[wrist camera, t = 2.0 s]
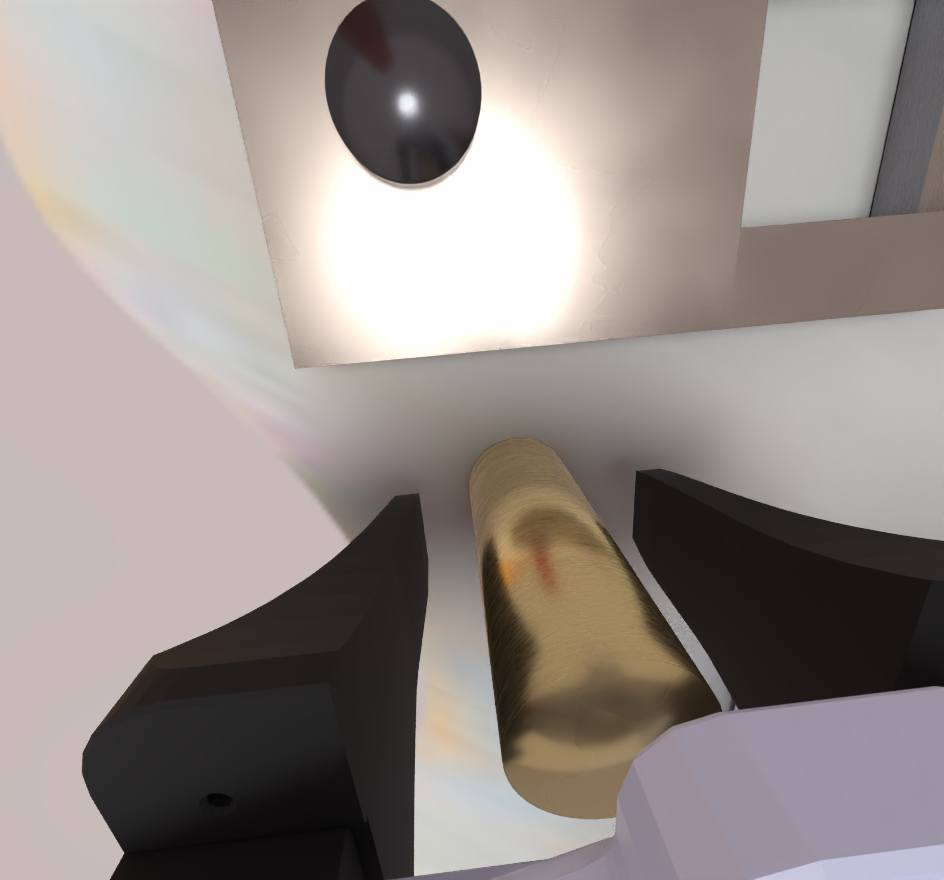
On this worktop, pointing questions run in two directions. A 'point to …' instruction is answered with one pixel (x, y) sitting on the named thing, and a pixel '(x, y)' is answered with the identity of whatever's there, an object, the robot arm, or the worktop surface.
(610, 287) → the door strike plate
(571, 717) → the brass pin
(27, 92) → the worktop surface
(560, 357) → the worktop surface
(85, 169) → the worktop surface
